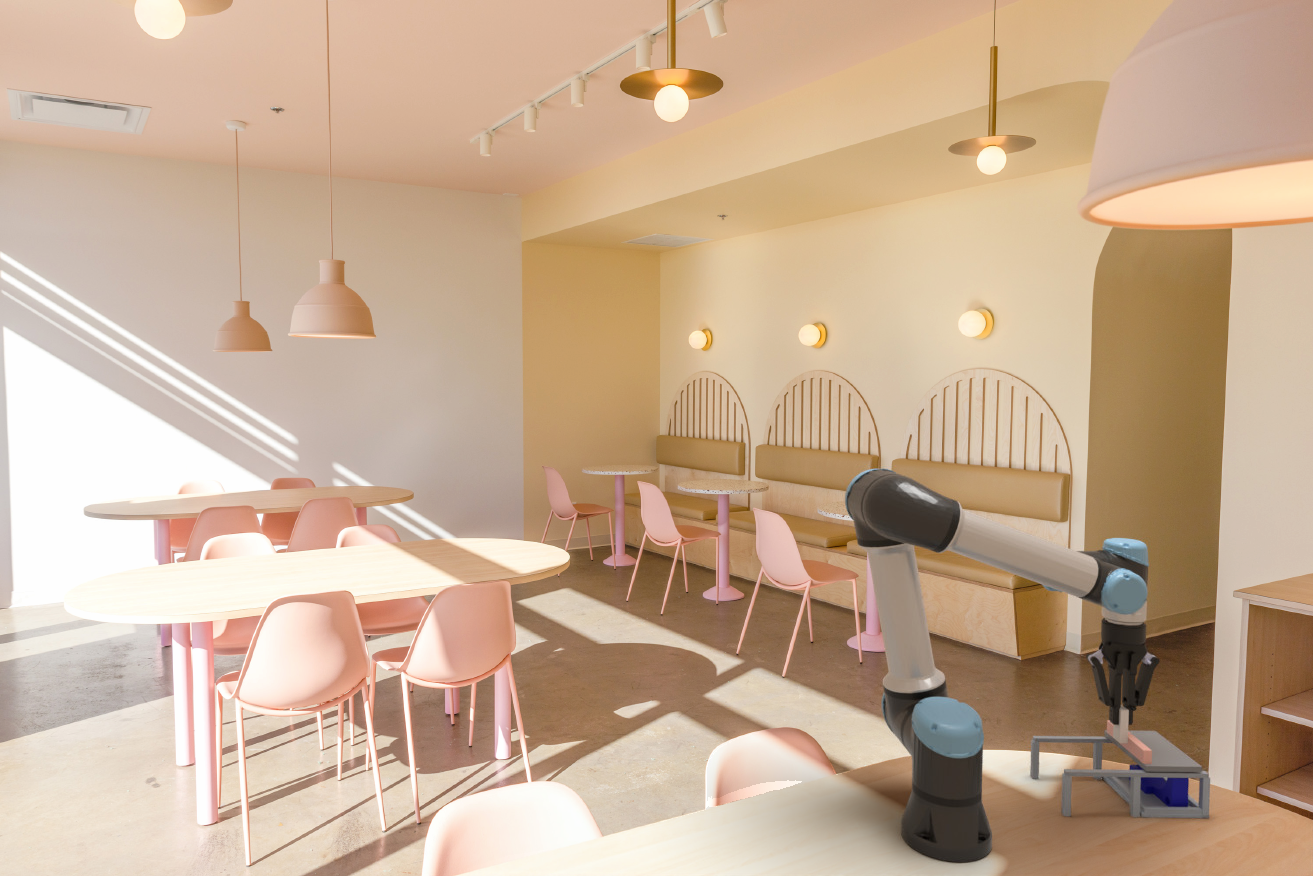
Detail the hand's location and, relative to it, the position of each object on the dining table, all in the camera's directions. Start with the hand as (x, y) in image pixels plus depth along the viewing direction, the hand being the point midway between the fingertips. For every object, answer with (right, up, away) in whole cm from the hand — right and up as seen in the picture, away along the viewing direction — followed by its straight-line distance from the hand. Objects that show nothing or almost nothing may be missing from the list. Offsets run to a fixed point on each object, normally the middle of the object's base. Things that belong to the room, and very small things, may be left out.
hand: (1120, 740), depth 164 cm
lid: (+6, -2, 0) cm, 6 cm away
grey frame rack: (-1, -11, +1) cm, 11 cm away
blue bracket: (+7, -11, 0) cm, 13 cm away
